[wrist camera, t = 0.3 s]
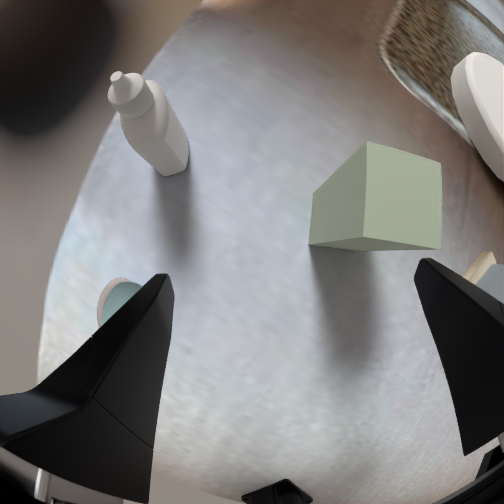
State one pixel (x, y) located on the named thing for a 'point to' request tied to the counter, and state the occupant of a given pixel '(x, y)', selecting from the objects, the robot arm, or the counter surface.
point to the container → (482, 106)
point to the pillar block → (379, 203)
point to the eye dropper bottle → (149, 122)
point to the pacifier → (115, 297)
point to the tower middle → (493, 282)
